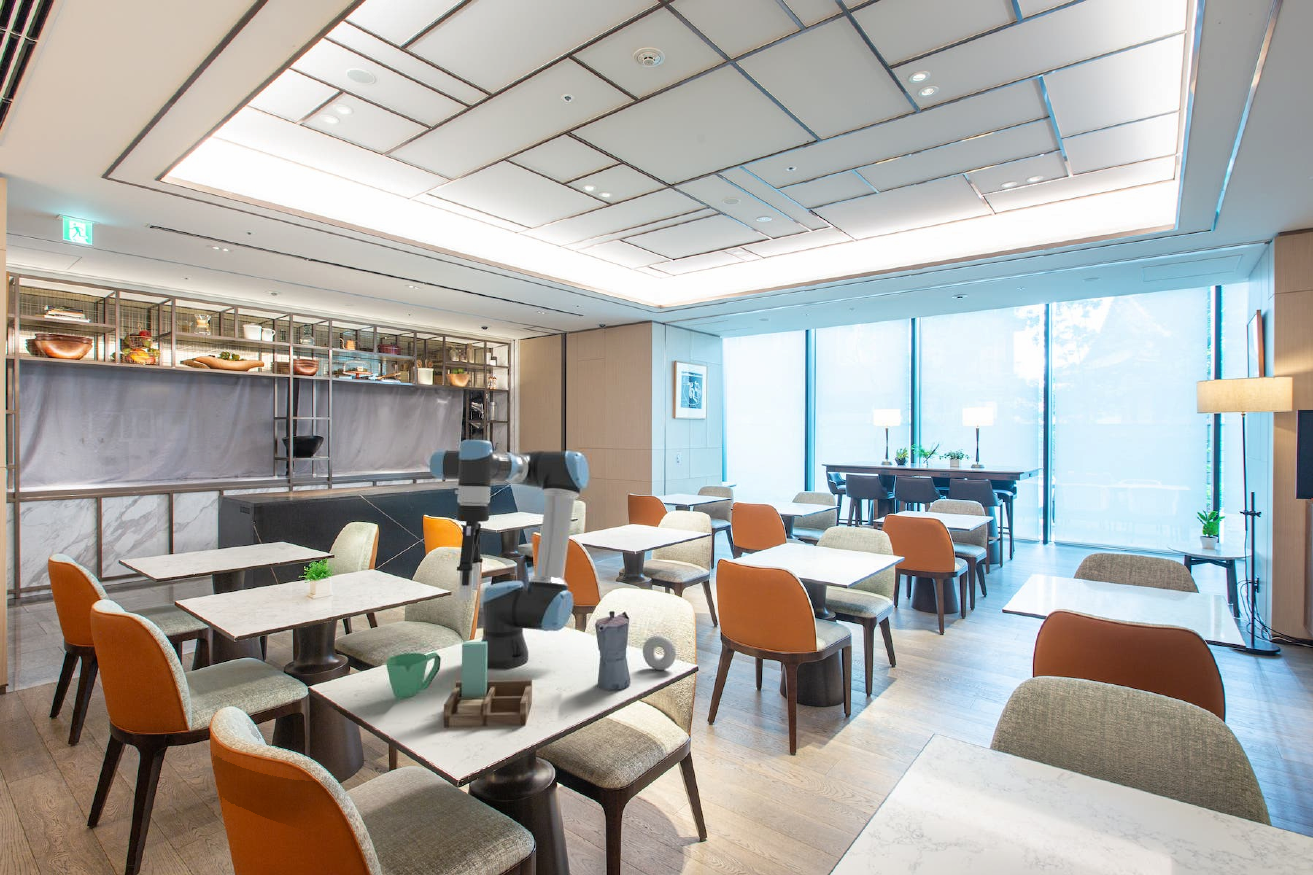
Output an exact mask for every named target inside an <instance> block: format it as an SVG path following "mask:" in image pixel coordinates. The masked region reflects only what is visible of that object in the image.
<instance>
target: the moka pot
mask: <svg viewBox="0 0 1313 875" xmlns="http://www.w3.org/2000/svg"><path fill="white" fill-rule="evenodd" d="M608 614H609V616H606V617H602V618H599V619H597V620H596V621H595V623H594V627H595V633H596V639H597V640H596V641H597V648H598V651H599V657H600V658H599V664H598V665H599V667H598V676H597V677H598V678H597V684H598V685H597V686H598V688H600V689H603V690H605V691H618V690H619V689H620V690H622V689H623V690H624V689H625V688H628V687H629V686H630V684H631V676H630V670H629V665H628V658H627V647H628V639H629V627H630V617H629V616H628V614H627V612H626V611H624V612H622V613H620V614H618V615H617V616H615V611H614V610H611V611H609V612H608ZM620 690H619V691H620Z"/></svg>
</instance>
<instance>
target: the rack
mask: <svg viewBox="0 0 1313 875" xmlns="http://www.w3.org/2000/svg"><path fill="white" fill-rule="evenodd" d="M461 700H484V702H483V713H464V714H455V713H456V711H457V709H458V704H459V702H460V701H461ZM532 701H533V679H530V678H529V679H490V680H489V679H487V696H486V697H462V680H456V681H455V687H454V689H453V690H452V692H451V693H450V694H449V696H448V697H447V699H446V701H445V703H444V704H443V728H444V729H447V728H479V727H480V728H483V727H484V728H485V727H487V728H488V727H489V728H490V727H519V726H520V727H521V726H522V727H526V724H527V722H528V718H529V715H530V713H531V712H530V711H531V709H532V705H533V702H532Z"/></svg>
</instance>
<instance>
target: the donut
mask: <svg viewBox="0 0 1313 875" xmlns="http://www.w3.org/2000/svg"><path fill="white" fill-rule="evenodd" d="M656 648H661V649H662V650H663V653H664V654H663V657H658V656H657V655H656V654H655V650H656ZM676 650H677V649H676V647H675V644H674V643H673V641H672V640H671V639H670V638H669V637H667V636H665V635H661V634H655V635H652V636H650V637H649V638H648V639H646V640H645V642H644V644H643V647H642V657H643V659H644V662H645V663H646V664H647V665H648V666H649V667H650V668H652V669H653V670H656V671H664V670H667V669H670V667H672V665H674V662H675V660H676V657H677V651H676Z"/></svg>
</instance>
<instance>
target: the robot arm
mask: <svg viewBox="0 0 1313 875" xmlns="http://www.w3.org/2000/svg"><path fill="white" fill-rule="evenodd" d="M459 445H460V446H459V450H448V449H445V450H436V451H435V452H433V453H432V455H431V457H430V458H429V466H428V468H429V472H430V474H431V475H432V477H434V478H435V479H437V480H438V479H440V480H444V481H445V480H458V482H457V489H456V490H455V491H454V494H455V495H457V499H456V500H457V503H458V504H459V505H457V506H456V512H455V513H456V514H455V516H456V517H455V518H456V519H455V520H457V522H465V526H462V533H461V534H462V538H461V539H462V540H461V549H460V558H459V559H460V560H459V565H458V566H456V571H457V572H459V585H458V586H459V590H458V601H471V600H472V598H473V597H472V595H473V591H479V588H480V587H479V584H480V581H479V580H480V564H481V563H483V560H484V559H483V558H482V556H481V538H482V536H481V535H482V528H481V527H482V524H481V522H488V521H489V518H490V507H489V505H488V504H490V503H491V488H492V487H491V481H498V482H506V483H508V484H511V485H521V486H525V487H526V486H527V487H531V488H532V487H533V488H538V489H539V488H540V489H541V488H542V489H541V492H542V493H543V495H544V496H545V503H544V511H543V516H542V523H541V531H540V537H539V538H540V539H539V544H538V552H537V559H536V566H535V571H534V576H533V577H532V578H531V579H529V581H528V585H527V587H525V585H524V582H523V581H521V580H512V581H511V580H509V581H503V582H498V583H494V584H491V585H488V586H486V587H485V588H484V590H483V598H482V599H483V600H482V606H483V607H482V638H481V641H480V642H487V669H491V670H492V669H494V670H495V669H496V670H502V669H504V670H505V669H510V668H515V667H518V666H523V665H525V664H526V663H528V661H529V649H528V646H527V643H526V640H525V636H524V632H523V631H524V629H526V630H528V629H529V630H536V631H537V630H538V631H543V632H549V631H550V632H559V631H561V630H562V629H563V628H565V626H566V625H567V624H568V623H569V621H570V618H571V616H572V612H573V608H574V596H573V593H572V592H571V591H569V590H568V587H569V585H568V583H567V582H566V580H565V571H566V564H567V557H568V550H569V549H568V547H569V542H570V533H571V526H572V519H573V518H572V517H573V510H574V501H575V500H577V499H578V498H579V497H580V494H581V490H584V489H586V488H587V487H588V484H589V480H590V470H589V464H588V461H587V460H586V457H585V456H584V455H583V453H581V452H579V451H570V450H560V451H559V450H557V451H556V450H555V451H554V450H553V451H552V450H546V451H545V450H534V451H526V452H507V451H506V450H505V451H504V450H503V451H502V450H494V449H493V444H492V442H491V441H490V440H483V439H464V440H462V441H461V442H460V444H459ZM479 522H480V523H479Z"/></svg>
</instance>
